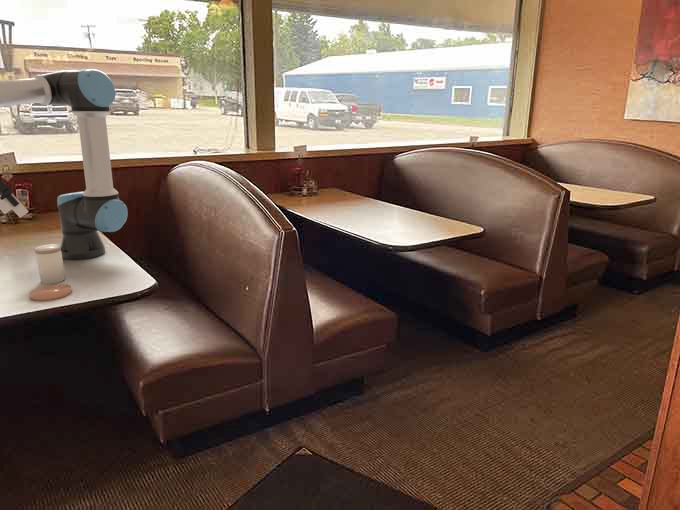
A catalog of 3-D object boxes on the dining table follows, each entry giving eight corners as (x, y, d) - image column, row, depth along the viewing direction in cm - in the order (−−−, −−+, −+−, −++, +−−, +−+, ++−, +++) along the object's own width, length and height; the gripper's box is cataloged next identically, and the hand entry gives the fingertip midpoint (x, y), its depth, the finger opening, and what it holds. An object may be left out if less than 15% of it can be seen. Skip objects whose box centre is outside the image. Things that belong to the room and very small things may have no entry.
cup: (44, 277, 168) (38, 244, 165) (68, 275, 169) (63, 243, 166) (37, 285, 161) (31, 251, 158) (62, 283, 162) (56, 249, 159)
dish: (37, 289, 158) (36, 285, 157) (76, 286, 160) (75, 282, 160) (24, 302, 147) (23, 298, 147) (66, 299, 150) (65, 295, 149)
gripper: (-65, 158, 145) (-9, 217, 157) (-43, 158, 128) (19, 224, 140) (-41, 143, 149) (13, 202, 160) (-15, 141, 132) (42, 207, 144)
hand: (16, 212), depth 150 cm, fingers open, 13 cm apart
